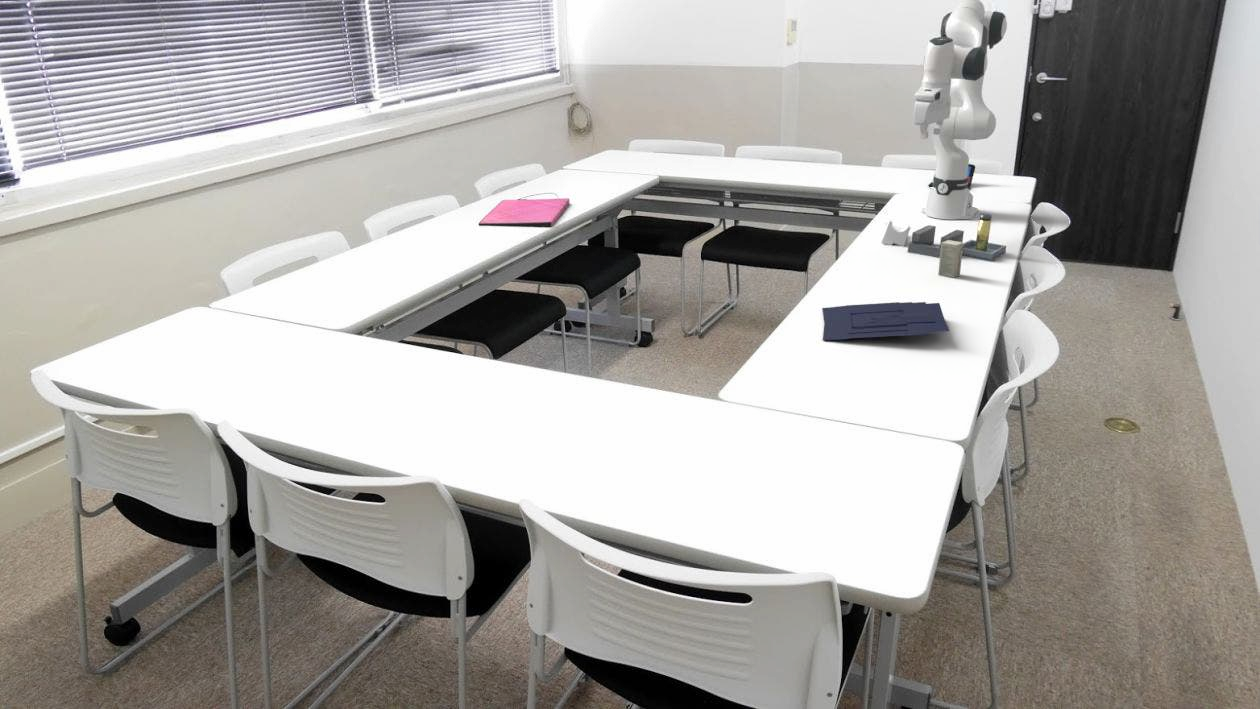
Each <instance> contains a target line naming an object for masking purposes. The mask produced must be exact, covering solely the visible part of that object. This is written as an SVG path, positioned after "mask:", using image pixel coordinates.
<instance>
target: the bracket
mask: <svg viewBox="0 0 1260 709" xmlns="http://www.w3.org/2000/svg"><path fill="white" fill-rule="evenodd" d="M911 228H912V226H911V225H910V224H907V226H906V227H905V228H904V227H900V226H897V225H893V219H888V223H886V222H884V225H883V227H882V229H881V232H880V233H881V234H880V235H881V236H880V238H881V239H880V240H881V243H883V244H885V245H888V246H893V244H895V245H899V246H901V247H904V245H905V244H906V241H907V238H908V236H909V233H910V231H911Z"/></svg>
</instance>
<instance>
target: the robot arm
mask: <svg viewBox="0 0 1260 709" xmlns="http://www.w3.org/2000/svg"><path fill="white" fill-rule="evenodd" d="M1007 27H1008V22H1007V17H1006V15H1005V14H1004V12H1000V11H997V10H995V11H989V10H985V6H984V4H983V2H982V1H981V0H962V1H961V2H960V3H958V4H957V5H956V7H954V9H952V11H951V12H949V13H947V14H945V16H943V18H942V21H941V22H940V26H939V33H940V36H939V37H933V38H932V39H929V41H928V43H927V47H926V50H925V55H924V58H923V66H922V68H923V78H922V80H921V86H920V87H919V89H918V90H916V92H915V93H914V98H913V99H914V101H915V103H914V111H913V122H914V125H915V126H919V130H920V139H923V140H926V139H929V141H930V142H931V144H932V146H933V148H934V152H935V169H934V170H935V171H934V172H935V173H934V175H935V176H934V175H933V178H932V182H933V185H932V186H933V188H929V190H928V192H927V198H926V200H925V201H926V202H925V206H924V207H923V208H921V211H920V212H921V213H923V214H925V215H926V216H927V217H930V218H933V219H939V220H951V221H952V220H954V221H955V220H956V221H957V220H971V219H973V217H974V216H975V215H976V214H977V213H978V212H979V208H977V207H975V206H974V207H973V202H974V199H973V198H974V195H973V194H972V193H971V191H970V190H969V189H967V187H968V182H970V177H967V171H968V164H970V163H969V162H970V158H969V155H968V153H967V152H966V151H964V150H963V149H961V148H960V147H958V146H957V145H956V143H955V140H964V141H965V140H968V141H977V140H986V139H988V138H990V137H991V136H992V134H993V133H994V131H995V130H996V126H997V119H996V116H995V114H994V113H993V111H992V110H990V109H989V108H988V106H987V105H986V103H985V102H984V99H983V92H982V91H983V84H984V79H985V74H986V70H987V68H988V47H989V50H992V49H993V48H994V47H995V45H997V44H999V43H1000V42H1001V41H1002V40H1003V38H1004V36H1005V35H1006V32H1007V29H1008V28H1007ZM952 97H953V98H954V99H956V100H957V101H959V102H961V103H962V106H952Z"/></svg>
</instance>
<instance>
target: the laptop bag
mask: <svg viewBox="0 0 1260 709" xmlns="http://www.w3.org/2000/svg"><path fill="white" fill-rule="evenodd" d="M547 194H549V192H544V193H543V195H547ZM551 194H553V195H555V196H557V198H545V199H544V198H542V199H541V198H540V199H539V198H538V199H537V198H536V199H527V198H529V197H532V196H534V194H533V195H527V196H525V197H521V198H517V199H502V200H501V201H500V202H499V203H498V204H497V205H495V207H493V209H491V210H490V212H488V213H487V214H486V215H485V216H484V217H483V218H482V219H481V220H480V221H479V222H478V226H479V227H480V226H482V227H483V226H486V227H489V226H490V227H528V228H529V227H531V228H533V227H535V228H537V227H538V228H552V227H553V225H555V223H556V222H557V221H558V220H559V218H561V216H562V215H563V213H564V212H565V211H566V209H567V208H568V207H569V206H570V198H567V197H565V198H564V197H563V198H560V197H559V196H558V195H557V194H556V193H554V192H551ZM537 195H541V193H538V194H535V196H537Z"/></svg>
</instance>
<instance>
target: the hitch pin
mask: <svg viewBox="0 0 1260 709" xmlns="http://www.w3.org/2000/svg"><path fill="white" fill-rule="evenodd" d="M992 218H993V214H990V213H986V212H985V213H983V212H982V213H980V214H979V219H978V224H977V232H976V239H975V240H976V246H975V250H978V251H984V252H987V247H988V243H989V240H990V239H989V238H990V233H991V232H990V231H991V225H992Z"/></svg>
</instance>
